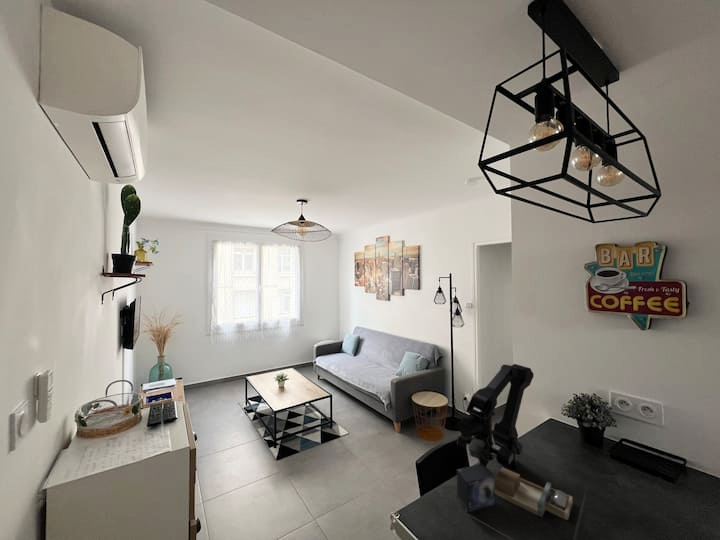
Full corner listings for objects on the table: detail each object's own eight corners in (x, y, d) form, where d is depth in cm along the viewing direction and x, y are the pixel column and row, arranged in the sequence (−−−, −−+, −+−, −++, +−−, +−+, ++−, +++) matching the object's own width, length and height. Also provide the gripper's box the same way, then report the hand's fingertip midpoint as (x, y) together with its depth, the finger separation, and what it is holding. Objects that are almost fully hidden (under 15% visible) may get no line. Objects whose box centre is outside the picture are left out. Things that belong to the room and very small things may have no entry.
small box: (468, 515, 92) (467, 482, 92) (456, 499, 99) (455, 468, 99) (496, 507, 95) (495, 475, 95) (482, 492, 101) (482, 462, 101)
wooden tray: (501, 473, 111) (501, 462, 111) (572, 504, 95) (572, 492, 95) (488, 492, 101) (488, 480, 101) (565, 530, 86) (565, 516, 86)
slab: (502, 476, 108) (502, 467, 108) (520, 484, 104) (520, 474, 104) (494, 488, 102) (494, 478, 102) (513, 497, 98) (512, 487, 98)
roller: (549, 505, 94) (553, 496, 93) (552, 496, 97) (556, 487, 97) (562, 514, 91) (567, 505, 91) (565, 505, 95) (569, 496, 94)
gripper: (449, 428, 109) (450, 470, 109) (502, 448, 96) (503, 496, 96) (462, 417, 117) (463, 456, 117) (513, 434, 104) (514, 478, 104)
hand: (484, 470), depth 109 cm, fingers closed
